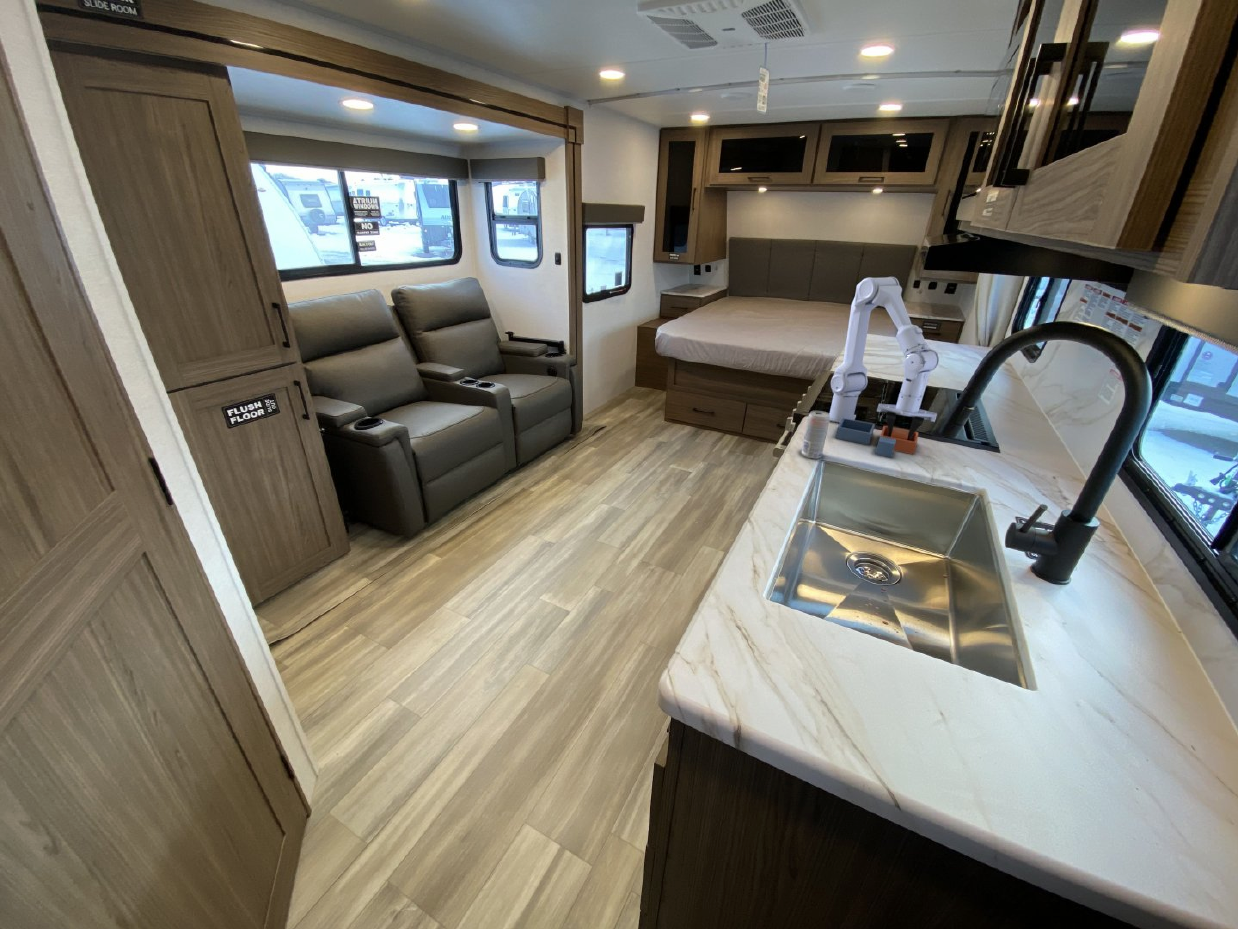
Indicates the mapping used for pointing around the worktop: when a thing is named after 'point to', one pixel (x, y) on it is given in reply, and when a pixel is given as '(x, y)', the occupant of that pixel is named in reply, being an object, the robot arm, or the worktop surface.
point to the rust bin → (902, 442)
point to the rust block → (900, 433)
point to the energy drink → (815, 434)
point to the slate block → (885, 446)
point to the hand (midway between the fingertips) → (898, 439)
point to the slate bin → (855, 431)
